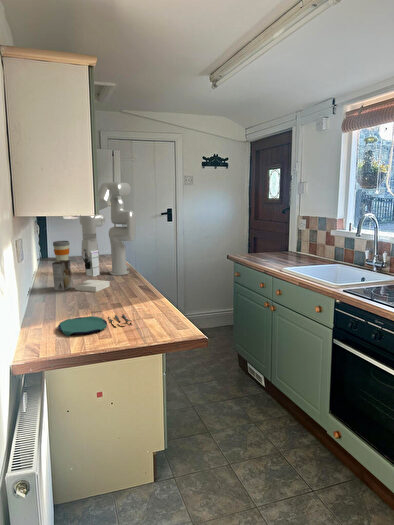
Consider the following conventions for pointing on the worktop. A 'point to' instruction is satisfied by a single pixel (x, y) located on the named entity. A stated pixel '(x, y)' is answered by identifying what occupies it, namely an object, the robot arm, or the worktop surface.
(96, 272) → the syrup box
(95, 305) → the worktop surface
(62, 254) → the reusable coffee cup
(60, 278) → the coffee box
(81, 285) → the base plinth
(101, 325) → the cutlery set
